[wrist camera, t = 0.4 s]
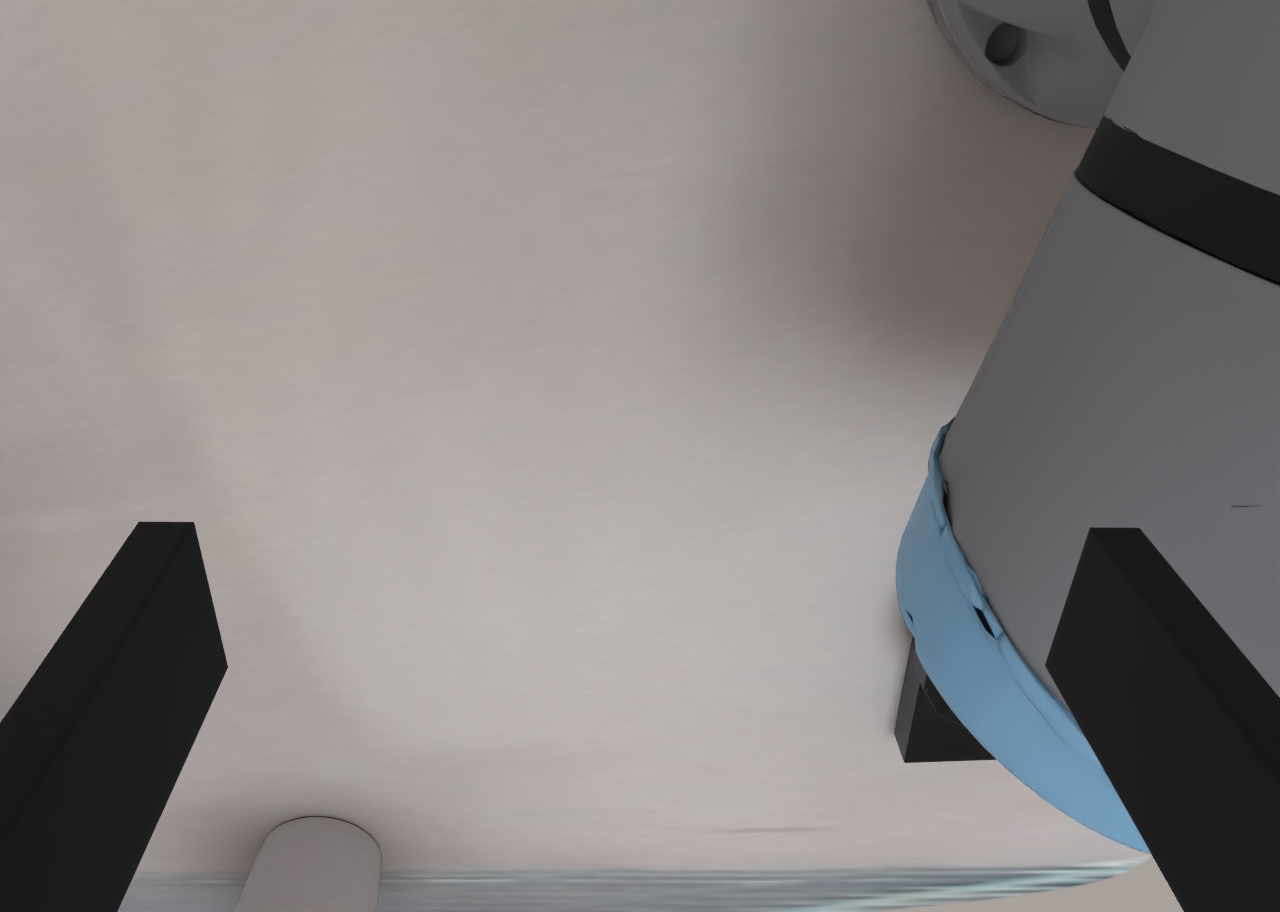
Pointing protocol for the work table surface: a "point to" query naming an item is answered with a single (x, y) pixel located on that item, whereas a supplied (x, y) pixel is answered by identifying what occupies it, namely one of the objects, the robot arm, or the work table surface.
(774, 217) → the work table surface
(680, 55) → the work table surface
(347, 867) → the coffee cup
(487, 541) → the work table surface
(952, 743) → the switch box
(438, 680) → the work table surface
